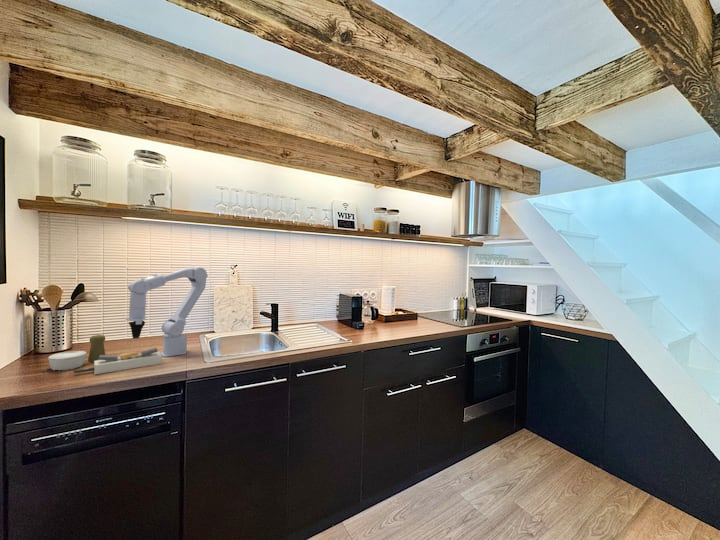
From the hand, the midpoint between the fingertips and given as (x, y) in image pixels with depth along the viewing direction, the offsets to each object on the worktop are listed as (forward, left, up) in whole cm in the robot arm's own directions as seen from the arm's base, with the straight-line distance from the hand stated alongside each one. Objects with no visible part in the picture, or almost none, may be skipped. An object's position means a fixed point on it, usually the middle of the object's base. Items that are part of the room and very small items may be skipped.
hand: (135, 338), depth 130 cm
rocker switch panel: (+5, +6, -10) cm, 13 cm away
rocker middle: (+3, +6, -6) cm, 9 cm away
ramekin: (+22, -7, -11) cm, 25 cm away
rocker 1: (+10, +6, -6) cm, 13 cm away
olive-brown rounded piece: (+13, -11, -11) cm, 20 cm away
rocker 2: (-4, +6, -6) cm, 10 cm away
